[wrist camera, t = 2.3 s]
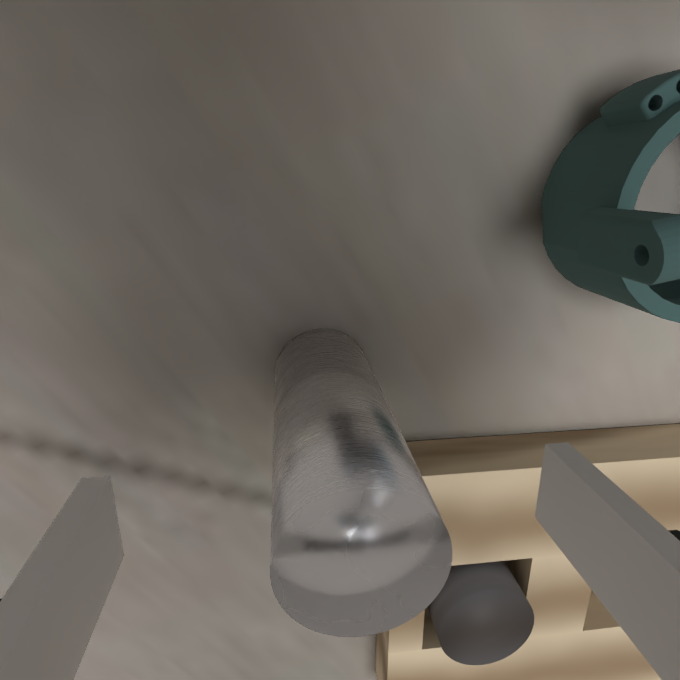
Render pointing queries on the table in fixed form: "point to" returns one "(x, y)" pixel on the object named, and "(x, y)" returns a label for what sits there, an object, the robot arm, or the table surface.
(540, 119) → the table surface
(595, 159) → the bracket
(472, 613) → the jig
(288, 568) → the metal cylinder
